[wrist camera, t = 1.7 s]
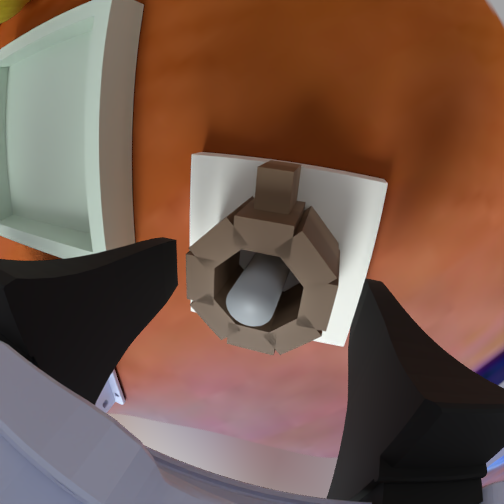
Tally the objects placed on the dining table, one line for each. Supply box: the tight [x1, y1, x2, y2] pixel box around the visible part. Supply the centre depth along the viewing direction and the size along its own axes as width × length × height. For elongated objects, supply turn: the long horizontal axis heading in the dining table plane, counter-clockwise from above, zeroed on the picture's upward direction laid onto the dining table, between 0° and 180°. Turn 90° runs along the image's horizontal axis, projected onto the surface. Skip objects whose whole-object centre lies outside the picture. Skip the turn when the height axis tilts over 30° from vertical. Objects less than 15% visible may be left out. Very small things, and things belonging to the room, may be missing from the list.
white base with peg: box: [190, 152, 388, 347], centre depth 12 cm, size 8×8×5 cm
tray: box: [0, 0, 144, 259], centre depth 14 cm, size 14×14×2 cm
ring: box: [186, 160, 340, 355], centre depth 11 cm, size 7×5×3 cm
